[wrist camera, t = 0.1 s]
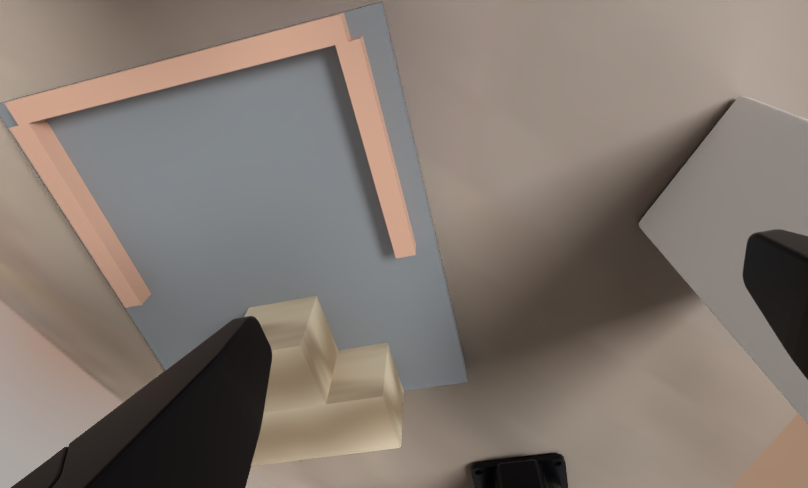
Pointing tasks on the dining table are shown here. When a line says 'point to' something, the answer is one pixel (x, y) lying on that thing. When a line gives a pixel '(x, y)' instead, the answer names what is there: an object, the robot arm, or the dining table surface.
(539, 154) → the dining table surface
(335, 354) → the t block
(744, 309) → the milk carton
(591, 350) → the dining table surface
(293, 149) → the board
